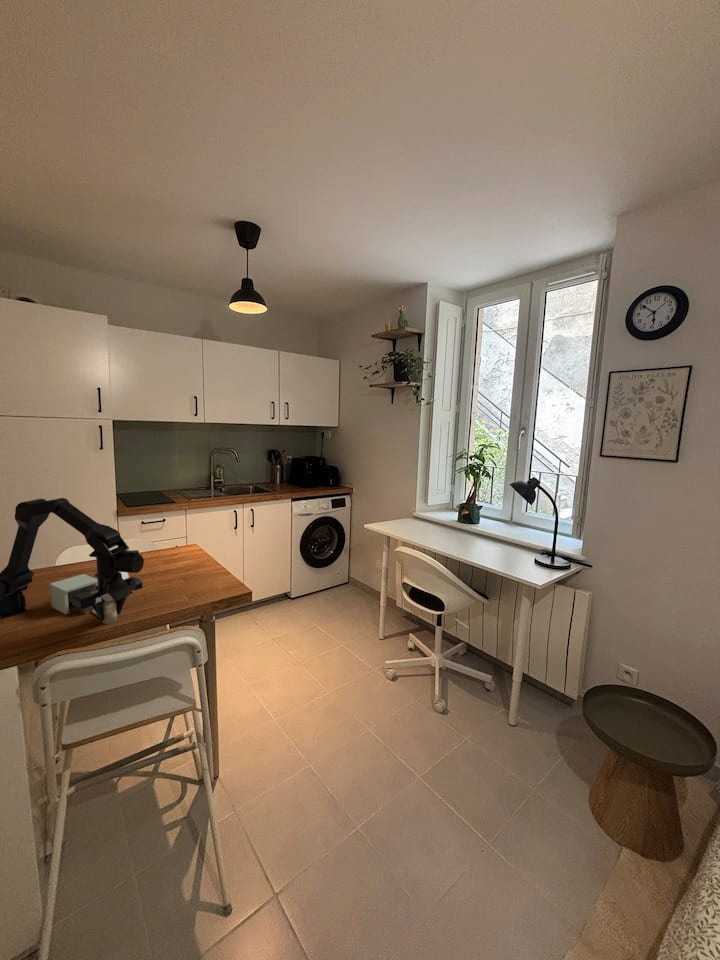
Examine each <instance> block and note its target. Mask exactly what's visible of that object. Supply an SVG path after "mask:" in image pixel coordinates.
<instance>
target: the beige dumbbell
mask: <svg viewBox="0 0 720 960" xmlns="http://www.w3.org/2000/svg"><path fill="white" fill-rule="evenodd" d="M89 593H91V594H93V593H96V592H95V591H93V592H89ZM104 602H105V603H104V605H103V610H104V621H102V620H101V622H102V624H104V625H110V624H113V623H116V622H117V621H118V614H117V610H116V601H115V600H110V601H105V600H104ZM77 608H78V607H77ZM78 611H79V612H81V613H82V614H84V615H89V614H91V613H92V614H94V616H97V617H98V618H99V616H98V615H97V613H96V611H95V610H94V608H93V607H92V606H90V607H87V608H84V609H80V608H78Z"/></svg>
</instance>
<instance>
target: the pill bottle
mask: <svg viewBox="0 0 720 960" xmlns="http://www.w3.org/2000/svg"><path fill="white" fill-rule="evenodd" d="M120 573H121V575H122V578H123V580H124V579H127V578H130V576H129V572H120ZM101 600H102V601H104V602H105V601H110V600H113V599H112V597H111V596H110V595H107V596H104V597H101Z"/></svg>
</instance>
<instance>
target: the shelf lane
mask: <svg viewBox="0 0 720 960" xmlns="http://www.w3.org/2000/svg"><path fill="white" fill-rule="evenodd" d="M96 586H98V580H97V578H96V577H92V576H90V575H88V574H85V573H82V574H79V575H75V576H72V577H69V578H68V577H67V578H65V579H62V580H58V581H54V582H51V583H49V593H50V605H51V608H52V609H55V610H57V611H59V612H61V613H62V614H63V615H67V614H70V607H69V605H70V603H72V598H73V596H74V595H77V594H80V593H83V592H93V591H95V592H98V590H96Z"/></svg>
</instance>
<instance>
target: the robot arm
mask: <svg viewBox="0 0 720 960" xmlns="http://www.w3.org/2000/svg"><path fill="white" fill-rule="evenodd" d="M51 513H52V514H54V515H56V517H58V518H59V519H60V520H62V521H64V522H66V524H68V525H69V526H71V527H72V528H73V529H74V530H76V531H78V532H79V533H80V534H82V535H83V536H84V538H85V542H86V543H87V544H88V545H89V546H90V547H91V548H92V549H93V551H92V552H91V553H90V554H88V556H89V557H90V558H91V557H92V558H95V559H96V560H95V561H96V562H95V563H96V573H94V578H96V579H97V580H98V586H96V590H98V592H96V593H93V594H91V593H89V592H83V593H80V594H77V595H74V596H73V598H72V602H71V605H72V606H74V607H76V608H80V609H84V608H87V607H90V606H92V607H93V608H94V610H95V611H96V613H97V615H98V616H99V617H98V616H97V615H96V616H97V617H98V618H99V619H100V621H101V622H102V621H104V610H103V605H104V603H105V601H104V600H103V599H102V597H104V596H107V595H110V596H111V597H112V599H113V600H114V601H116V610H117V615H120V614H121V613H122V610H123V608H124V604H125V602H126V599H127V598H128V597H129V596H130V595H132V594H133V591H134V592H135V591H139V590H140V589H143V587H144V582H143V580H142V579H140V578H137V577H134V576H131V577H130V576H129V578H127V579H124V580H123V578H122V575H121V573H120V572H127V573H128V574H130V573H132V574H138V573H140V572H141V571H142V569H143V568H144V564H145V559H144V557H143V555H142V554H140V551H139V550H137V549H135V550H134V549H133V550H129V549H130V547H129V546H128V544H127V543H126V541H125V540H124V538H122V536H121V533H120V532H119V530H116V529H115V528H114V527H112V526H109V525H106V524H101V523H98V522H97V521H95V520H94V519H92V518H91V517H90V516H88V515H87V514H86V513H84V512H82V511H81V510H80V509H79V508H77V507H76V506H74V505H73V504H72V503H71V502H70V501H69V500H68V499H67V498H65V497H60V498H55V499H49V500H46V499H45V498H36V499H32V500H26V501H22V502H20V503H17V505H16V506H15V512H14V520H15V521H16V523H17V526H18V527H17V531H16V534H15V538H14V541H13V544H12V549H11V552H10V556H9V559H8V562H7V563H8V564H7V565H6V566H5V567H4V568H3V570H1V572H0V618H1V619H4V618H8V617H11V616H14V615H17V614H20V613H21V614H22V613H23V612H26V611H28V609H27V608H26V607H27V605H26V603H27V602H26V595H24V591H27V590H28V588H29V585H30V583H32V582H33V577H34V574H35V571H32V570H31V569H30V568H29V562H30V558H31V555H32V552H33V549H34V546H35V543H36V542H35V541H36V538H37V535H38V531H39V528H40V527H41V526H42V525H43V524H44V523H45V522H46V521H47V520H48V518H49V516H50V514H51ZM112 548H113V549H112Z"/></svg>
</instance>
